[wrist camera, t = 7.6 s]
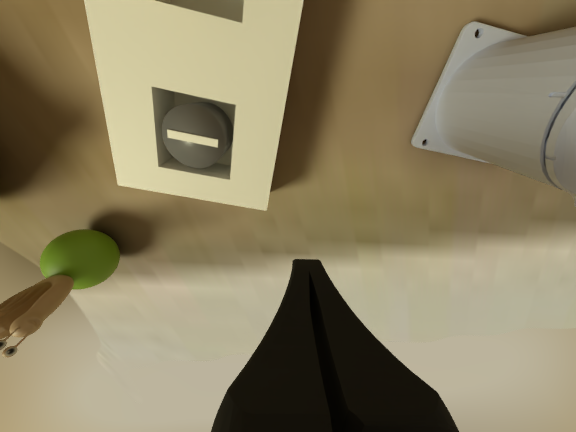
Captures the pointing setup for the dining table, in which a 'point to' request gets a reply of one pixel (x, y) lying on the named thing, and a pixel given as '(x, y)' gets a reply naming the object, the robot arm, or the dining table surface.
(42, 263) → the snail figurine
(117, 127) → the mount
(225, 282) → the dining table surface
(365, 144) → the dining table surface
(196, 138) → the knob
